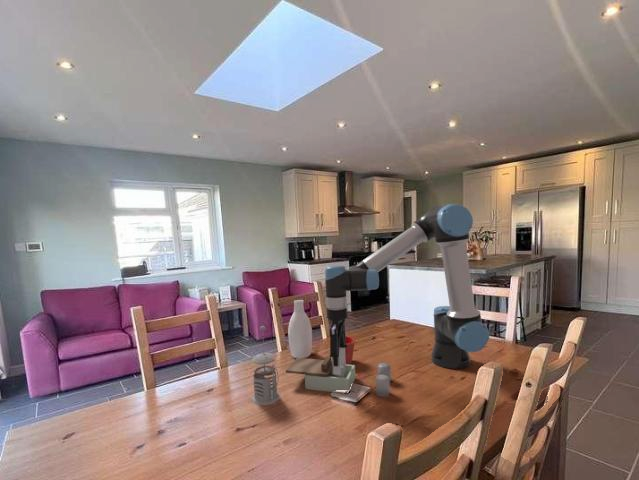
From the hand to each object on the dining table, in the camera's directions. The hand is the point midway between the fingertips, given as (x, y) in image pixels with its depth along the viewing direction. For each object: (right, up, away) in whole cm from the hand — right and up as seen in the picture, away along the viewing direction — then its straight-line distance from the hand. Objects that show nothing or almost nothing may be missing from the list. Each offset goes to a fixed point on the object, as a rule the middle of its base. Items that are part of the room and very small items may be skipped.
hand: (339, 369), depth 116 cm
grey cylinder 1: (0, -5, 0) cm, 5 cm away
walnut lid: (-10, -1, +3) cm, 11 cm away
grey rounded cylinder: (+14, -5, -8) cm, 17 cm away
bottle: (-16, -6, +30) cm, 35 cm away
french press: (-25, -7, -8) cm, 27 cm away
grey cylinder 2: (+17, -5, +2) cm, 18 cm away
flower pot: (+3, -5, +20) cm, 21 cm away
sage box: (-3, -6, +1) cm, 7 cm away
